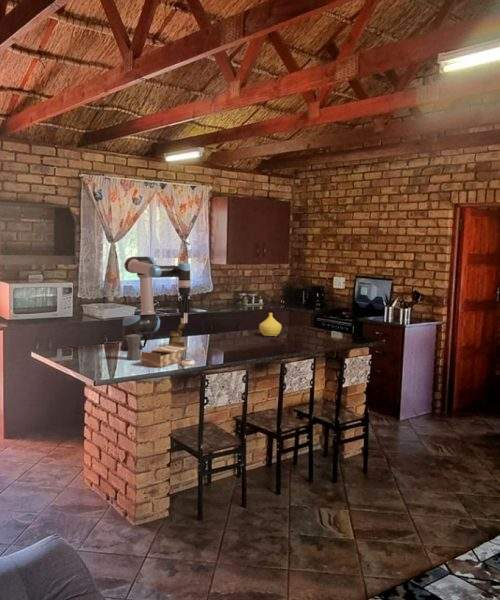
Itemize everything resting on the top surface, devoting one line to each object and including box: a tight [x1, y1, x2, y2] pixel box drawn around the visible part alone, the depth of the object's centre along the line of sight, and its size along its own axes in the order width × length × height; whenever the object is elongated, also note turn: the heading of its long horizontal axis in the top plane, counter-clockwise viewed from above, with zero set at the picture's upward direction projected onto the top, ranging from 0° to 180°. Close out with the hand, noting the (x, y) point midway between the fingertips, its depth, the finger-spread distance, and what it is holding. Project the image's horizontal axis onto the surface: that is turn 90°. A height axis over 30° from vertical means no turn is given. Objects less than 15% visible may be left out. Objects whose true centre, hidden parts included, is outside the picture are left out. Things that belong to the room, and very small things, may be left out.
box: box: [140, 350, 181, 369], centre depth 341 cm, size 20×15×8 cm
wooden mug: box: [167, 322, 186, 346], centre depth 401 cm, size 9×14×18 cm, turn 134°
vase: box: [258, 312, 282, 337], centre depth 458 cm, size 18×18×19 cm
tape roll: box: [180, 359, 196, 367], centre depth 340 cm, size 8×8×3 cm
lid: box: [151, 341, 190, 353], centre depth 350 cm, size 19×14×4 cm
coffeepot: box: [124, 331, 149, 361], centre depth 354 cm, size 15×9×18 cm, turn 90°
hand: (184, 323), depth 362 cm, fingers open, 2 cm apart
